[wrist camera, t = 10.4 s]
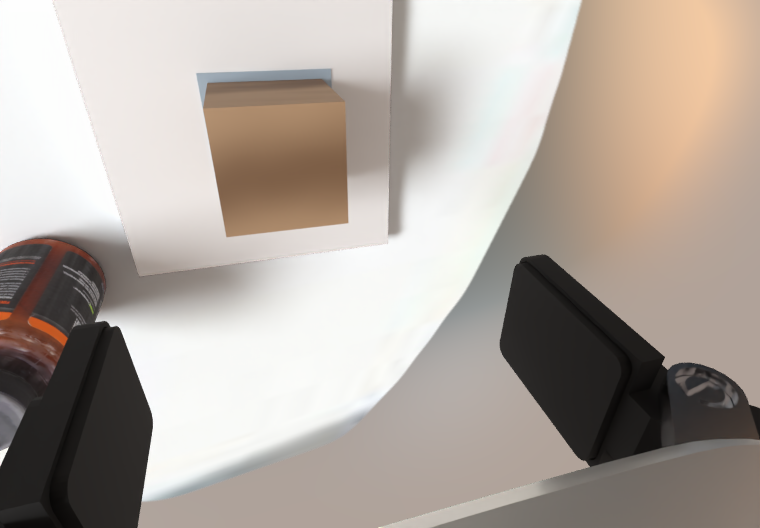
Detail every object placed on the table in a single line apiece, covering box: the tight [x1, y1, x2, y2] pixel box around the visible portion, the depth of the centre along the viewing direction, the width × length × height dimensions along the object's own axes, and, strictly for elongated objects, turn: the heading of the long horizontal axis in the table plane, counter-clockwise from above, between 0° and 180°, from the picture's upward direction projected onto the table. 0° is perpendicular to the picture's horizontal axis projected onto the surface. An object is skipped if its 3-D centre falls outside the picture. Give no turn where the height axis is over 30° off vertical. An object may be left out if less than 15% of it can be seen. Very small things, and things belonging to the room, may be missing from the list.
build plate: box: [52, 0, 392, 277], centre depth 26 cm, size 16×16×1 cm
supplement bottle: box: [0, 239, 106, 450], centre depth 23 cm, size 6×6×11 cm
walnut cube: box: [203, 79, 348, 237], centre depth 24 cm, size 6×6×6 cm
